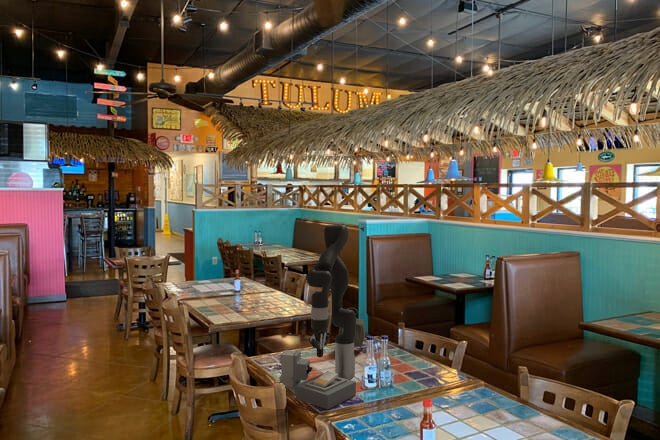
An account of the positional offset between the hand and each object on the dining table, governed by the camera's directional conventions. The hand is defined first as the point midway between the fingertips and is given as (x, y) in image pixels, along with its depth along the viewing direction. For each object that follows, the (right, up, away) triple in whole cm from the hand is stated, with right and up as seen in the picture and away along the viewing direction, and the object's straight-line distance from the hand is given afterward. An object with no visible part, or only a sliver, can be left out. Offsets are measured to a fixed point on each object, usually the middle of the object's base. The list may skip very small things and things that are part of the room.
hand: (319, 356), depth 218 cm
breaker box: (+3, -19, +4) cm, 19 cm away
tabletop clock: (+17, -17, +73) cm, 77 cm away
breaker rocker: (+3, -11, +4) cm, 12 cm away
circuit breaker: (-11, -19, +19) cm, 29 cm away
